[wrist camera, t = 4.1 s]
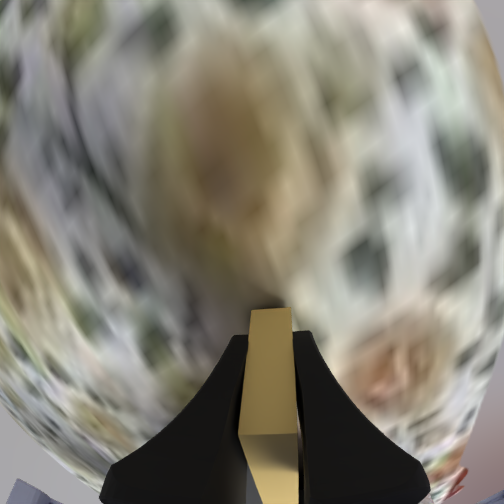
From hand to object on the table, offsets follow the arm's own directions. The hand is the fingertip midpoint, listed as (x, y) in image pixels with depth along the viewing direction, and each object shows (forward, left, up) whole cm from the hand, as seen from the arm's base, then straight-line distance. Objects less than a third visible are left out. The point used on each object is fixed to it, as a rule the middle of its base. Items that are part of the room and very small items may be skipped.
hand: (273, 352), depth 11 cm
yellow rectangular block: (0, -4, -1) cm, 4 cm away
